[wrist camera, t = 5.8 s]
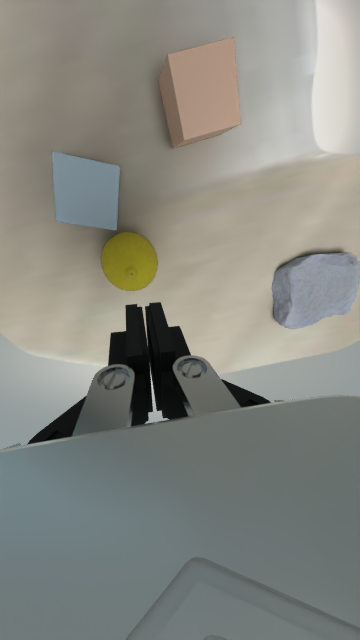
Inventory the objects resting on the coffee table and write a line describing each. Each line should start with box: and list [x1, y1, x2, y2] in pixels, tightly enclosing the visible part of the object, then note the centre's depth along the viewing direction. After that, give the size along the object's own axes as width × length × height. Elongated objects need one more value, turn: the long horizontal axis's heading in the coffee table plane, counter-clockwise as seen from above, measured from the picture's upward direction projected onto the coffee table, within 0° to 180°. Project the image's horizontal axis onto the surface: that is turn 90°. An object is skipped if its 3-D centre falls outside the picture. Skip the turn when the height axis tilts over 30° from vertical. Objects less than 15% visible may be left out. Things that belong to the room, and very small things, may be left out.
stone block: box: [272, 252, 360, 329], centre depth 34 cm, size 12×5×10 cm
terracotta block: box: [158, 37, 241, 148], centre depth 20 cm, size 5×5×5 cm
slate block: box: [52, 151, 120, 231], centre depth 22 cm, size 5×5×5 cm
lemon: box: [101, 232, 158, 291], centre depth 24 cm, size 6×6×8 cm
